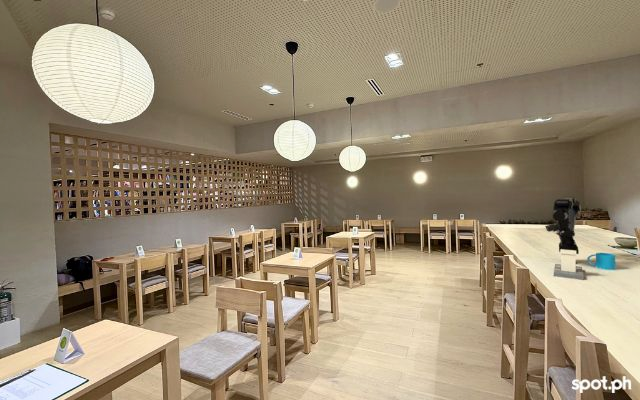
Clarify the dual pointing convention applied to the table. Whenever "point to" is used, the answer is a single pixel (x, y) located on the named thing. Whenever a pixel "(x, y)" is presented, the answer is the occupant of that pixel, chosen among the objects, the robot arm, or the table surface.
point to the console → (566, 274)
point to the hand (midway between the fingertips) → (563, 245)
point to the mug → (604, 261)
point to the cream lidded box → (568, 260)
